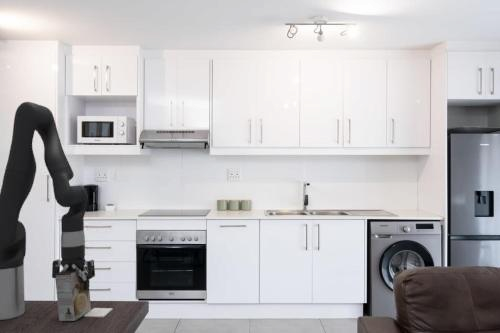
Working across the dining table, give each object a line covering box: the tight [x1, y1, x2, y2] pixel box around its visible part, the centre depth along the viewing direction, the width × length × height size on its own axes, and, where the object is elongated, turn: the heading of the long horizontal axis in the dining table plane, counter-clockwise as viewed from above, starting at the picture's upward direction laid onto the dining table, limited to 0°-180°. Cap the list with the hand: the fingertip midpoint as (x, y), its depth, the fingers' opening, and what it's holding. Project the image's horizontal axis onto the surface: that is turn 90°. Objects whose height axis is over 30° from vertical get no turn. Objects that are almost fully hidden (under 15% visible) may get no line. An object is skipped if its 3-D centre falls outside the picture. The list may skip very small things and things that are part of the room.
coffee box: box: [54, 265, 92, 322], centre depth 132 cm, size 9×6×16 cm
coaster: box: [83, 307, 113, 318], centre depth 134 cm, size 7×7×1 cm
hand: (73, 290), depth 132 cm, fingers open, 8 cm apart
